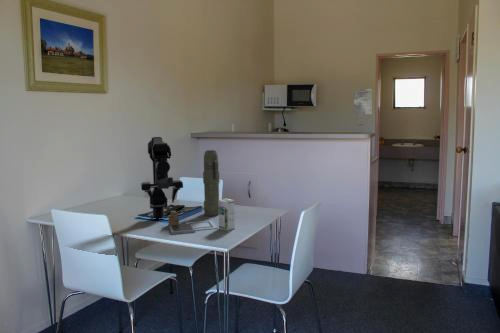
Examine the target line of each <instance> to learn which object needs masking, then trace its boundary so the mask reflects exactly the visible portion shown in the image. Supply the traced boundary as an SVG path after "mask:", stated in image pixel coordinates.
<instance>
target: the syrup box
mask: <svg viewBox="0 0 500 333" xmlns="http://www.w3.org/2000/svg"><path fill="white" fill-rule="evenodd" d="M235 220H236V219H235V200H234V199H230V198H221V199H220V198H219V215H218V229H219V230H223V231H226V232H228V231H232V230H235V228H236V227H235Z"/></svg>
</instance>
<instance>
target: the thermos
mask: <svg viewBox="0 0 500 333" xmlns="http://www.w3.org/2000/svg"><path fill="white" fill-rule="evenodd" d="M220 180H221V179H220V171H219V155H218V153H217V150H213V149H208V150H205V152H204V153H203V172H202V181H203V186H204V187H203V189H204V200H203V212H204V216H206V217H217V216H219V200H220V188H219V187H220Z"/></svg>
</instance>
